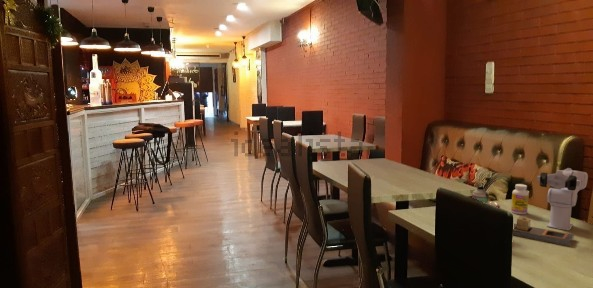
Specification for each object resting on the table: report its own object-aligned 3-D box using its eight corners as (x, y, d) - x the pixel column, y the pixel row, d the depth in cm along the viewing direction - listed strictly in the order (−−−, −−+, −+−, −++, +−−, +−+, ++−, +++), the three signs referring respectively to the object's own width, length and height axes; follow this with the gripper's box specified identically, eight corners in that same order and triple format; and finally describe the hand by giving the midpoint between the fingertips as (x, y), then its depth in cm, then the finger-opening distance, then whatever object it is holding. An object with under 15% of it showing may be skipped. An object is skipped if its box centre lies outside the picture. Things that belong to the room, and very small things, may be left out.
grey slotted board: (510, 227, 184) (511, 222, 184) (573, 239, 171) (573, 234, 170) (504, 233, 177) (505, 228, 177) (569, 246, 164) (569, 240, 163)
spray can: (484, 235, 175) (488, 184, 173) (485, 239, 170) (489, 187, 168) (469, 233, 177) (472, 183, 175) (470, 238, 172) (473, 186, 169)
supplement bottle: (512, 214, 204) (514, 186, 202) (509, 210, 210) (511, 183, 208) (528, 215, 202) (530, 187, 200) (525, 211, 208) (527, 184, 206)
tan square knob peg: (518, 231, 180) (519, 216, 179) (529, 233, 178) (530, 218, 177) (516, 233, 177) (517, 218, 176) (527, 236, 175) (528, 220, 174)
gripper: (541, 167, 183) (533, 170, 173) (583, 171, 174) (577, 174, 164) (540, 184, 184) (532, 188, 173) (581, 189, 175) (576, 194, 164)
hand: (554, 183), depth 169 cm, fingers open, 7 cm apart
